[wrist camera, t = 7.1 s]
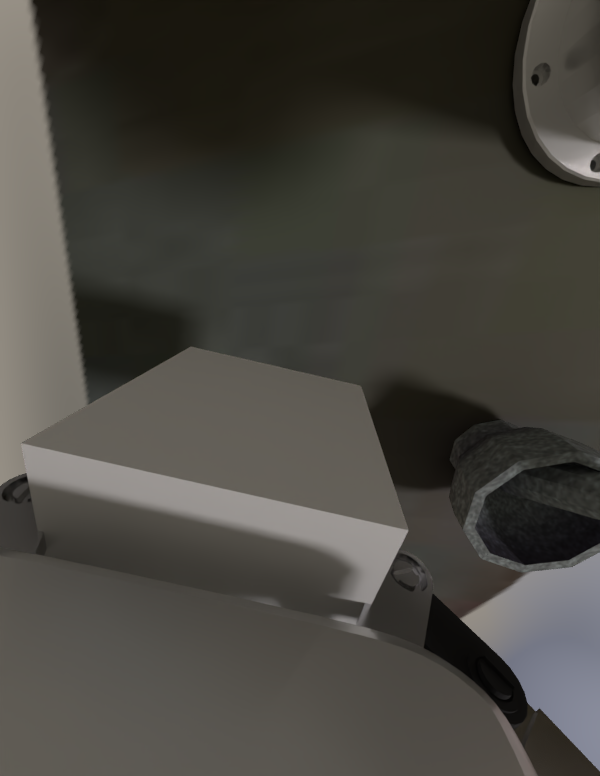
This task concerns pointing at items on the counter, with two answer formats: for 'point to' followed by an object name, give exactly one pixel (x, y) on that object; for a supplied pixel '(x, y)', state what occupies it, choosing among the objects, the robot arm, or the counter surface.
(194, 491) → the white cube
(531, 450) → the mortar and pestle
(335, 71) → the counter surface
